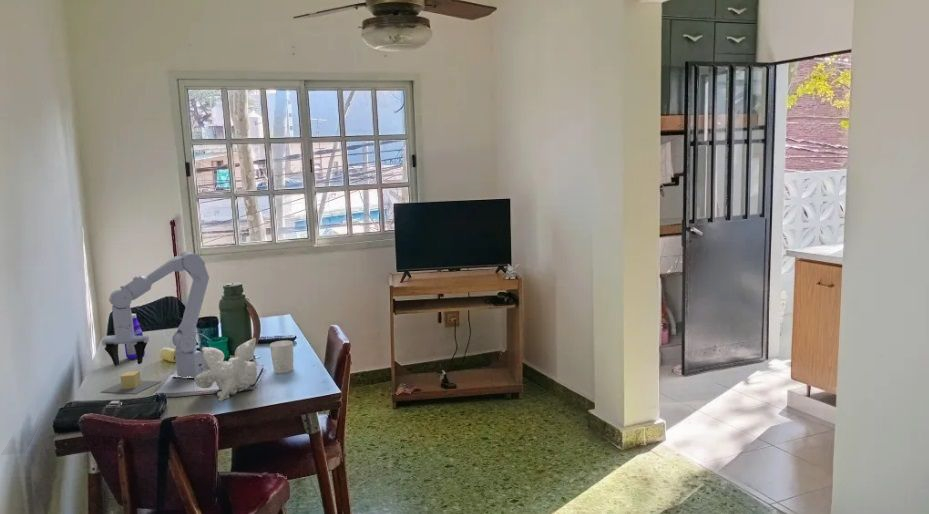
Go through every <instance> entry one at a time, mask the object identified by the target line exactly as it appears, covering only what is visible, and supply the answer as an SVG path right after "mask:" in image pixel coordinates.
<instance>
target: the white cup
mask: <svg viewBox="0 0 929 514" xmlns="http://www.w3.org/2000/svg"><path fill="white" fill-rule="evenodd" d="M269 348H270V355H271V361H272V365H273V372H274V373H276V374H285V373H286V374H287V373H291V372H292V371H293V370H294V341H292V340H288V339H287V340H277V341H274V342H271V343H270V344H269Z"/></svg>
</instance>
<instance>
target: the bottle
mask: <svg viewBox="0 0 929 514" xmlns="http://www.w3.org/2000/svg"><path fill="white" fill-rule="evenodd" d="M132 320H133V328H134V336H144V335H143V330H142V328H141V326H140V325H141V324H140V322H139V321H138V317H137V313H132ZM135 344H137V343H127V344H124V349H125V350H124V351H125V352H124V353H125V358H126V359H129V360H137V354H136V351H135V348H134V345H135ZM145 354H146V350H144V354H143V356H145Z"/></svg>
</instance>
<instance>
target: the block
mask: <svg viewBox="0 0 929 514" xmlns="http://www.w3.org/2000/svg"><path fill="white" fill-rule="evenodd" d="M141 379H142V378H141V372H140V370H136V371H126V372H124V373H122V374H121V375H120V383H121V385H122V389H129V388H136V387H138V386H139V385H140V384H141V381H142V380H141Z"/></svg>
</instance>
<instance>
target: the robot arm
mask: <svg viewBox="0 0 929 514" xmlns="http://www.w3.org/2000/svg"><path fill="white" fill-rule="evenodd" d="M184 271H185V272H187V273H188V275H189V276H190V278H191V279H192V283H191V287H190V289H189V290H190V291H189V292H188V297H187V302H186V305H185V309H184V311H183V317H182V319H181V322H180V323H179V325H178V327H177V331H176V332H175V333H173V336H172V343H173V345H174V346H175V350H174V359H175V360H174V361H175V369H176V374H177V375H178V376H181V377H187V376H188V377H189V376H191V377H193V378H195V377H196V376H197V375H198V374H200V373H202V372H209V371H208V370H207V364H206V361H205V359H204V357H203V353H204V352H203V351H200V350H197V344H198V343H197V325H198V320H199V317H200V313H201V310H202V306H203V302H204V298H205V294H206V291H207V287H208V284H209V281H210V280H209V279H210V275H209V273H208V271H207V267H206V263H205V261H204V260H203V258H202V257H201V256H200V255H198V254H197V253H193V252H191V251H183V252H181V253H180V254H179V255H176V256H174V257H171V259H169V260H168V261H166V262H165V263H163V264H162V265H160V266H159V267H157V268H156V269H154V270H153V271H151V272H150V273H149V274H148V275H145V276H144V275H139V276H134V277H133V278H132V280H131V281H130V282H128V283H127V284H125V285H121V286H120V287H119V289H116V290H113V291H112V292H111V294H110V296H109V298H108V300H109V303H110V304H111V305H112V306H111V311H112V321H113V329H114V336H115V337H108V338H103V339H102V340H101V344H102V347H103V346H104V350H105V352H106V353H107V354H108V355H109V357H110V359H111V361H112V362H113V365H114V366H115V367H116V366H119V365H120V357H119V345H125V344H127V343H137V344H135V345H134V348H135V351H136V354H137V358H136V361H137V364H138V365H141V364H142V363H143V358H144V355H145V354H144V350H145V349H146V347H147V344H148V342H149V341H150V337H149V335H143V336H134V328H133V320H132V314H133V313H132V310H131V303H132V301H135V300H136V299H138V298H140V297H141V296H142V295H144V294H147V292H149V291H150V290H151V289H152V286H153V284H155V283H156V282H158V281H160V280H162V279H163V278H165V277H166V276H169V274H172V273H174V272H184ZM145 351H146V350H145ZM143 354H144V355H143Z"/></svg>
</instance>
